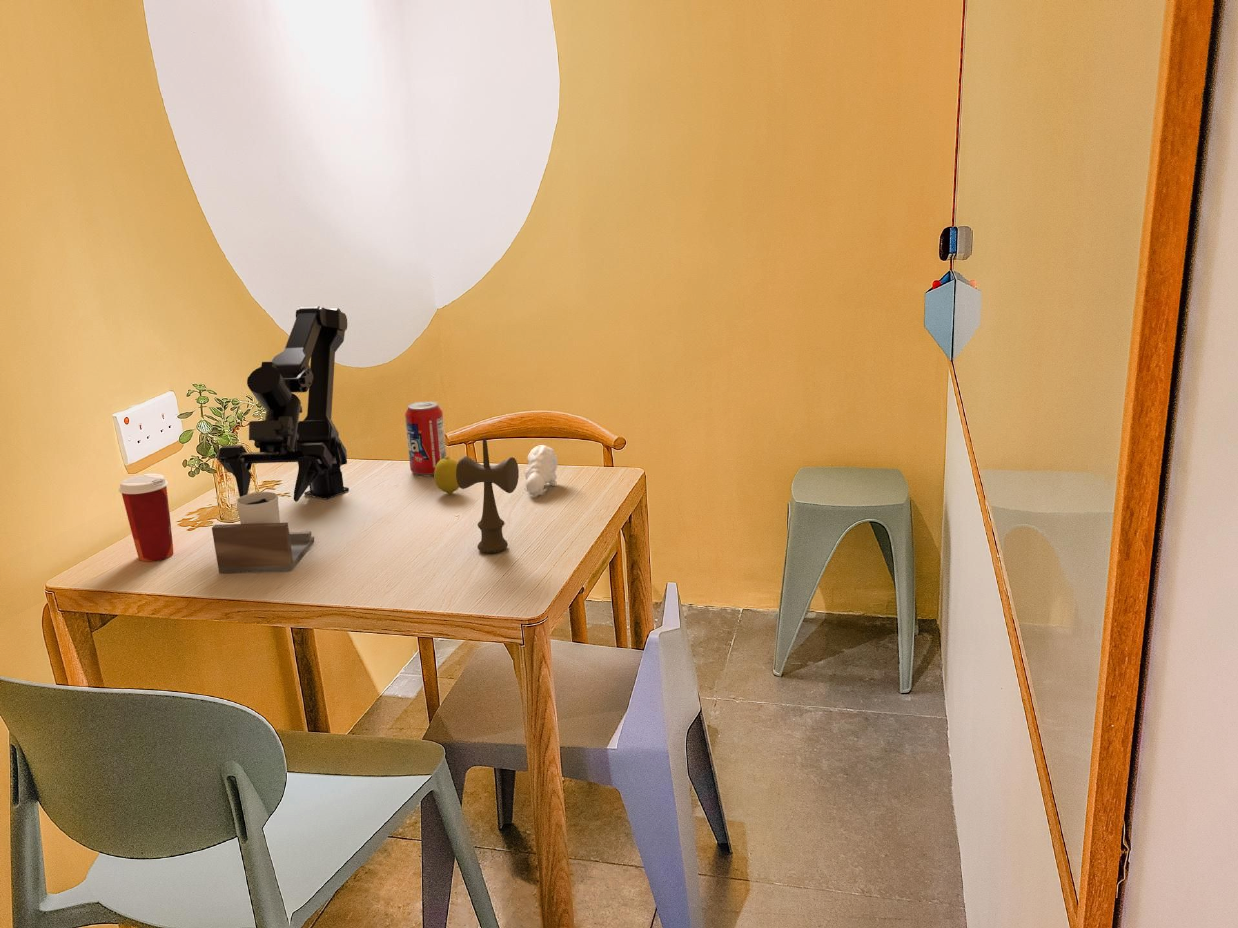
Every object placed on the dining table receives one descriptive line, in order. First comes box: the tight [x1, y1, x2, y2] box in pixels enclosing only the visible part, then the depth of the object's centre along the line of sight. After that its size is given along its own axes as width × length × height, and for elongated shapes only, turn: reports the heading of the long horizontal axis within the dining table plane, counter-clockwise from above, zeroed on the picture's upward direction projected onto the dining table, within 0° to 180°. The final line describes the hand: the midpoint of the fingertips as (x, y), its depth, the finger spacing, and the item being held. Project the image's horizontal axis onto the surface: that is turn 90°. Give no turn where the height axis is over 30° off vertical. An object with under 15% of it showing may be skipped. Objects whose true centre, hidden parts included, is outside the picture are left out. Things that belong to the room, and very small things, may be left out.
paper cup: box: [118, 473, 174, 563], centre depth 172 cm, size 8×8×14 cm
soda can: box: [404, 400, 447, 477], centre depth 214 cm, size 8×8×15 cm
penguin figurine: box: [523, 444, 559, 498], centre depth 200 cm, size 6×8×12 cm
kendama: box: [456, 437, 520, 554], centre depth 169 cm, size 6×10×20 cm, turn 74°
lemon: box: [433, 455, 460, 496], centre depth 200 cm, size 6×6×8 cm
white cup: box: [235, 491, 281, 524], centre depth 169 cm, size 7×7×10 cm
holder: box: [211, 522, 315, 574], centre depth 171 cm, size 13×12×8 cm
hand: (268, 501), depth 173 cm, fingers open, 9 cm apart
